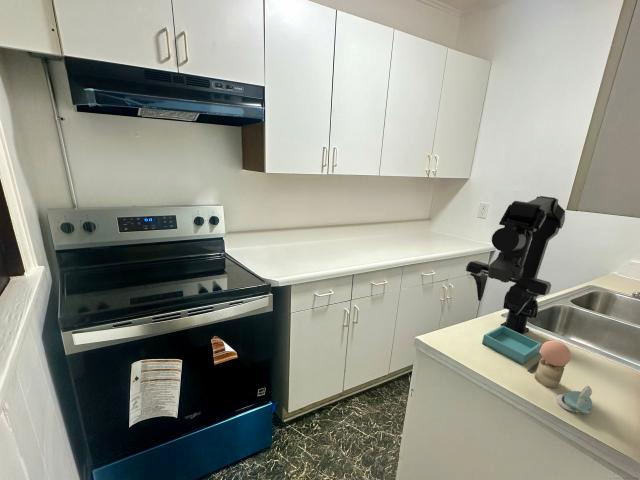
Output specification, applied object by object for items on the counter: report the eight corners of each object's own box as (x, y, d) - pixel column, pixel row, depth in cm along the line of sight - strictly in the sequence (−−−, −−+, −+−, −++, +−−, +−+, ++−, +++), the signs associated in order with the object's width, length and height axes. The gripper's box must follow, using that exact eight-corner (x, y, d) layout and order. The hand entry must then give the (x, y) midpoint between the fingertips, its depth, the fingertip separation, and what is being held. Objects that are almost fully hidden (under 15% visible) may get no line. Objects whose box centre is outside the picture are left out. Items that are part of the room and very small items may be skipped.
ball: (543, 353, 83) (549, 333, 81) (570, 366, 78) (578, 345, 76) (533, 360, 79) (540, 339, 78) (561, 374, 75) (568, 352, 73)
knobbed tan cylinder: (539, 372, 83) (545, 352, 82) (561, 383, 79) (568, 363, 78) (531, 378, 80) (537, 358, 79) (553, 391, 77) (560, 370, 75)
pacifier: (553, 406, 72) (587, 422, 68) (560, 383, 70) (595, 398, 66) (560, 392, 77) (591, 406, 73) (566, 369, 75) (599, 382, 71)
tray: (500, 333, 101) (502, 325, 100) (539, 352, 92) (542, 343, 91) (481, 343, 94) (484, 334, 94) (521, 365, 86) (524, 355, 85)
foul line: (548, 355, 91) (548, 354, 91) (552, 356, 91) (552, 356, 91) (527, 370, 83) (527, 370, 83) (531, 373, 83) (531, 372, 83)
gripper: (465, 241, 82) (450, 297, 85) (550, 263, 69) (529, 328, 72) (481, 241, 90) (466, 293, 93) (559, 261, 77) (540, 320, 80)
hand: (497, 307), depth 84 cm, fingers open, 9 cm apart
